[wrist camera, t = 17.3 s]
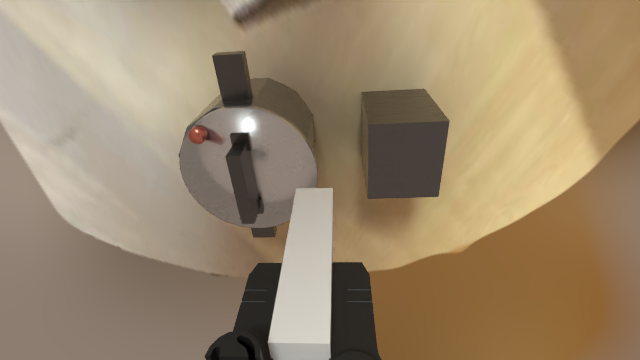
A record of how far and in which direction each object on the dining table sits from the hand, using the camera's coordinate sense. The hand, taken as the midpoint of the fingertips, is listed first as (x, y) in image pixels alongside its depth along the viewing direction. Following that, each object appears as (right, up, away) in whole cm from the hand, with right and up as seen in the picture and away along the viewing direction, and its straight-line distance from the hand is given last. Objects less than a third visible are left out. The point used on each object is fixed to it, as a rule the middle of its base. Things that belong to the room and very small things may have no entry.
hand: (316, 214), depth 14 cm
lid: (-7, +2, +18) cm, 19 cm away
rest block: (+9, +8, +25) cm, 28 cm away
